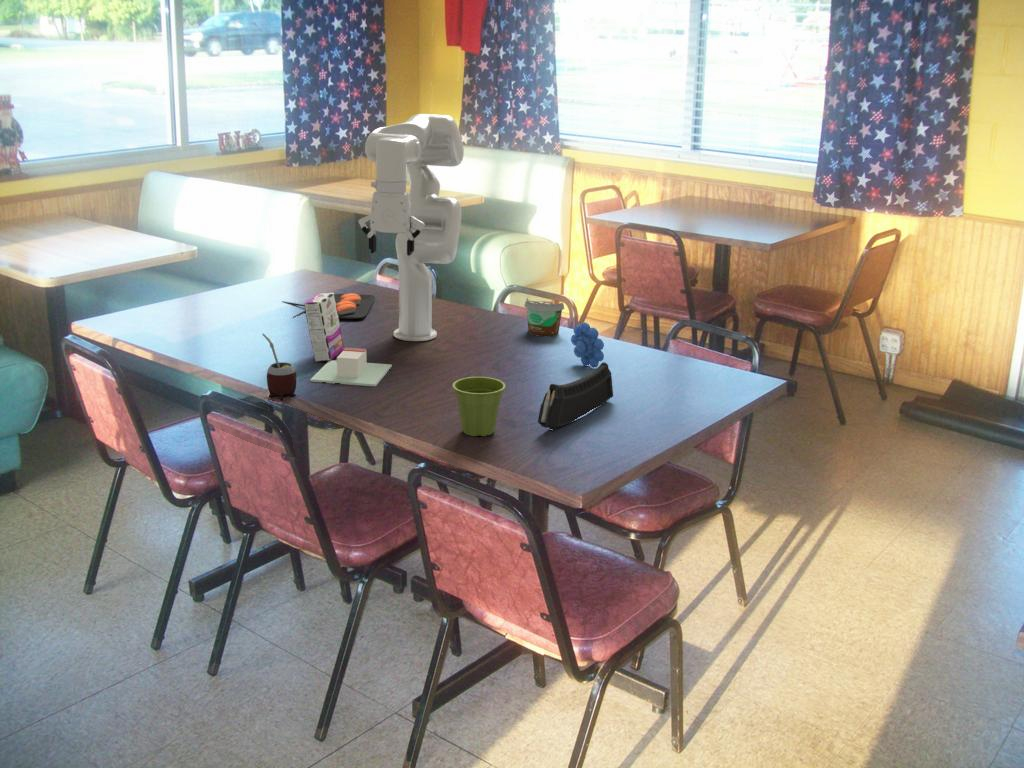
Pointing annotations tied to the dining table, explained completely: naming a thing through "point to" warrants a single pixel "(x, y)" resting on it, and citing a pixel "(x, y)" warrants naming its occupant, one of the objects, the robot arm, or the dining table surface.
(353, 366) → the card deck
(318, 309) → the candy bar box
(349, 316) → the sushi plate
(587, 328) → the grapes
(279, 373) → the mate gourd
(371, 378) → the mat
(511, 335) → the dining table surface
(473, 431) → the plant pot
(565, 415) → the magazine
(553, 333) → the food container
